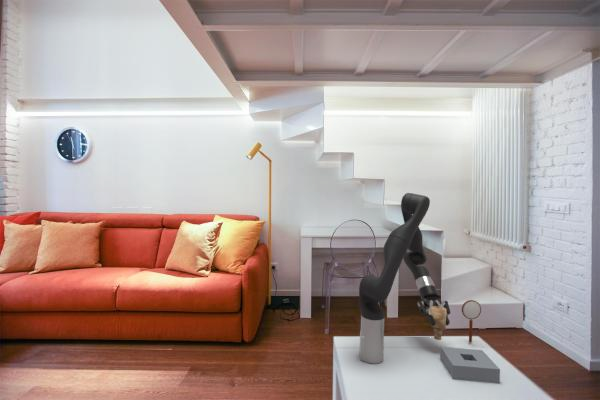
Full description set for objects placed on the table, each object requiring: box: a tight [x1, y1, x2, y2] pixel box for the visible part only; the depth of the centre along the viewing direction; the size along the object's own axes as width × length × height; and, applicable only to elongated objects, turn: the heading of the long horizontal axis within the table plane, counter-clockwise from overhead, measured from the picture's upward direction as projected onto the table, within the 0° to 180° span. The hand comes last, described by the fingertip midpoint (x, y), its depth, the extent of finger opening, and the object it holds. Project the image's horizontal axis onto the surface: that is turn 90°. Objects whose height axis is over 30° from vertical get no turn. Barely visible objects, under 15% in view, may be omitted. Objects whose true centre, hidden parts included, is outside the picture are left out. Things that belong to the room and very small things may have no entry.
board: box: [439, 346, 501, 384], centre depth 120 cm, size 16×14×5 cm
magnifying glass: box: [461, 299, 482, 345], centre depth 141 cm, size 9×2×20 cm, turn 91°
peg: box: [430, 306, 447, 341], centre depth 133 cm, size 6×6×13 cm
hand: (440, 324), depth 132 cm, fingers closed on peg, 5 cm apart
